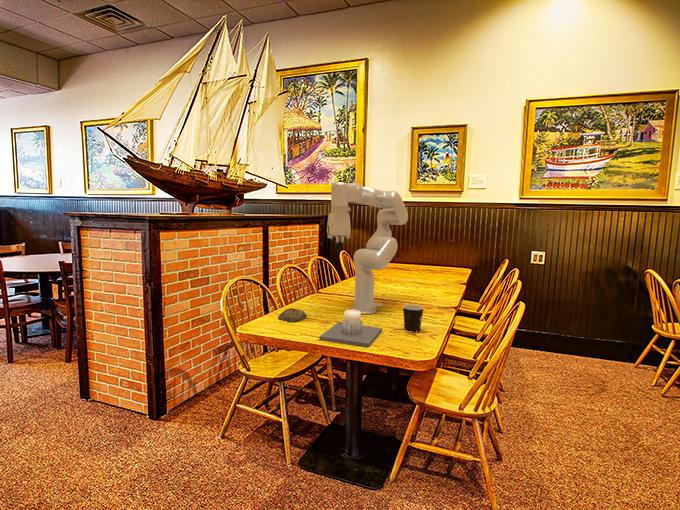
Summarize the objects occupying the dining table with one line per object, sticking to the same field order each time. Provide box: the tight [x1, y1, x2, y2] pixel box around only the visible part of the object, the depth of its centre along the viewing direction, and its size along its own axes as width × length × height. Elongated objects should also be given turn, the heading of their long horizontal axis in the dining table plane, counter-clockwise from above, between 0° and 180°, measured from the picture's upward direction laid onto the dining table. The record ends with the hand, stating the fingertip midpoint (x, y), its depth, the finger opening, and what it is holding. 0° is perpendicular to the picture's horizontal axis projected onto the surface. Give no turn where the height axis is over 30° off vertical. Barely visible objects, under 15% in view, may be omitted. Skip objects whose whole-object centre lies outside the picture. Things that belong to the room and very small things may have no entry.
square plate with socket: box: [319, 319, 383, 348], centre depth 150 cm, size 20×20×6 cm
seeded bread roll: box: [277, 307, 308, 323], centre depth 173 cm, size 13×12×5 cm
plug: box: [343, 309, 362, 324], centre depth 150 cm, size 7×7×8 cm
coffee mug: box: [402, 304, 424, 333], centre depth 157 cm, size 12×9×10 cm
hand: (338, 251), depth 167 cm, fingers closed
